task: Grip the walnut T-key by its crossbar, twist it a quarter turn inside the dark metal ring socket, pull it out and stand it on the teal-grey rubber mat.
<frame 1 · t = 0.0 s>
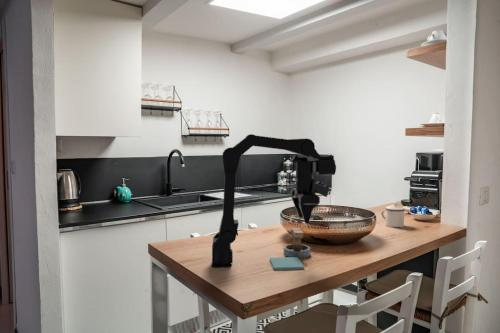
hand: (303, 220, 122), 15 cm above the table, tool pointing down, fingers open, 9 cm apart
teacup with lid: (391, 225, 180), on the table
lighter: (317, 237, 156), on the table
t key: (296, 242, 132), in the ring socket
ring socket: (296, 254, 132), on the table
rubber mat: (286, 264, 121), on the table
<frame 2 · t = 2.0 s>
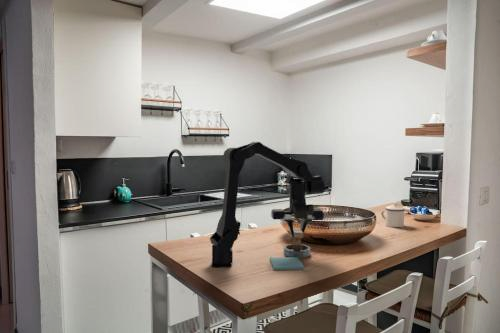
hand: (297, 236, 132), 7 cm above the table, tool pointing down, fingers closed on t key, 3 cm apart
t key: (296, 242, 132), in the ring socket, touching gripper
everything else where it was.
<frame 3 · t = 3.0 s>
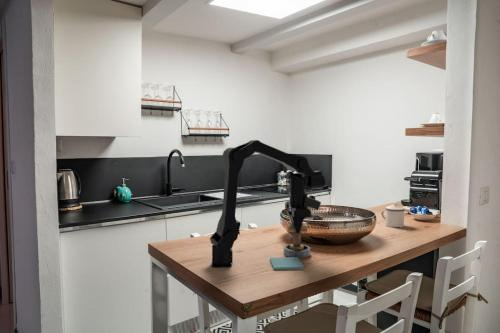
hand: (297, 231, 132), 8 cm above the table, tool pointing down, fingers closed on t key, 3 cm apart
t key: (296, 237, 132), point 6 cm above the table, touching gripper
everything else where it was.
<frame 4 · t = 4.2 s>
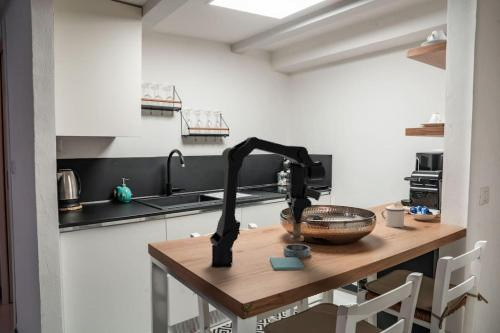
hand: (297, 222, 131), 12 cm above the table, tool pointing down, fingers closed on t key, 3 cm apart
t key: (296, 227, 132), point 10 cm above the table, touching gripper
everything else where it was.
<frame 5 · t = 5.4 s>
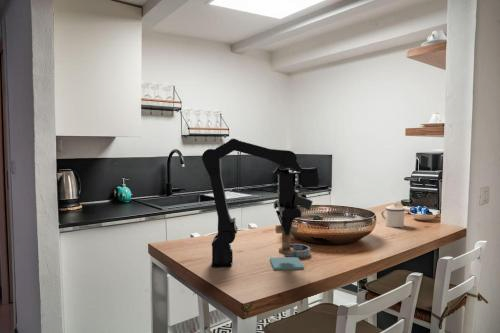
hand: (286, 233, 120), 11 cm above the table, tool pointing down, fingers closed on t key, 3 cm apart
t key: (286, 239, 120), point 9 cm above the table, touching gripper
everything else where it was.
when the fingers open (8 cm above the table, at t = 6.4 s): t key stays where it is, resting on rubber mat.
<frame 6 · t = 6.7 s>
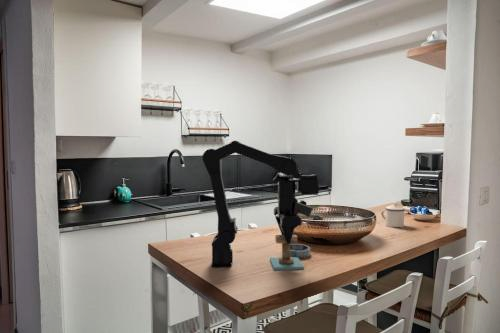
hand: (286, 240, 120), 8 cm above the table, tool pointing down, fingers open, 7 cm apart
t key: (286, 249, 121), on the rubber mat, point 5 cm above the table
everything else where it was.
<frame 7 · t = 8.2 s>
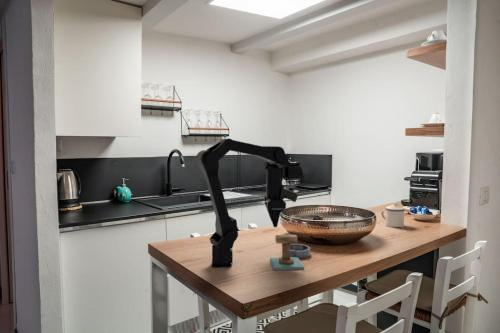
hand: (274, 224, 129), 12 cm above the table, tool pointing down, fingers open, 9 cm apart
nothing on the table moved.
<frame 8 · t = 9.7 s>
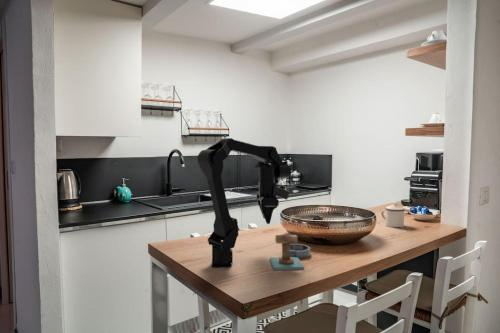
hand: (266, 221, 134), 12 cm above the table, tool pointing down, fingers open, 9 cm apart
nothing on the table moved.
at the end: t key 0.0 cm from the target spot, point 5.3 cm above the table; t key tilted 0°; the gripper is holding nothing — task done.
